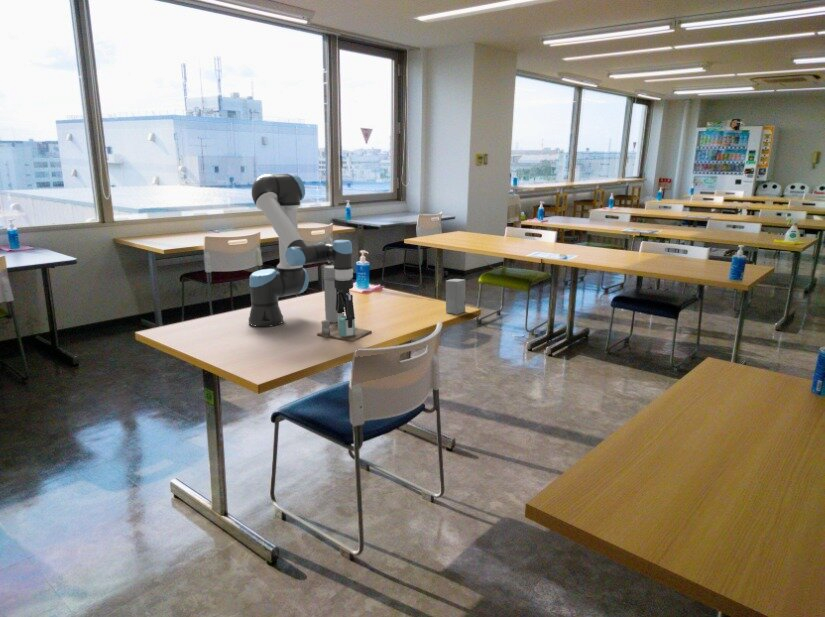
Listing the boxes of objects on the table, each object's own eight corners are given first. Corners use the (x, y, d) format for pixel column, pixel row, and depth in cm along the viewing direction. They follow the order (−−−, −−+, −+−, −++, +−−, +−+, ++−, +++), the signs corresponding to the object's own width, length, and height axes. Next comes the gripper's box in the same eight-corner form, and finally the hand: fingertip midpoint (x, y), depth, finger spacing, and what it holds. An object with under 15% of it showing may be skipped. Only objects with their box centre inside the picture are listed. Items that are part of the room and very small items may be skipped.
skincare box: (456, 315, 261) (457, 282, 257) (444, 312, 265) (444, 280, 261) (466, 311, 268) (467, 279, 264) (453, 309, 272) (454, 277, 268)
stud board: (316, 335, 231) (315, 320, 229) (337, 326, 243) (336, 312, 242) (351, 342, 222) (351, 326, 221) (371, 332, 235) (371, 318, 233)
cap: (340, 337, 226) (339, 320, 225) (338, 332, 232) (337, 316, 231) (355, 335, 228) (355, 319, 226) (353, 331, 234) (352, 315, 232)
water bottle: (326, 324, 247) (324, 268, 241) (324, 319, 255) (322, 265, 248) (347, 322, 250) (345, 267, 243) (344, 317, 257) (342, 264, 250)
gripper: (362, 283, 216) (363, 337, 222) (343, 273, 236) (345, 323, 241) (343, 284, 213) (345, 340, 219) (326, 274, 233) (328, 325, 238)
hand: (345, 331), depth 230 cm, fingers open, 10 cm apart
